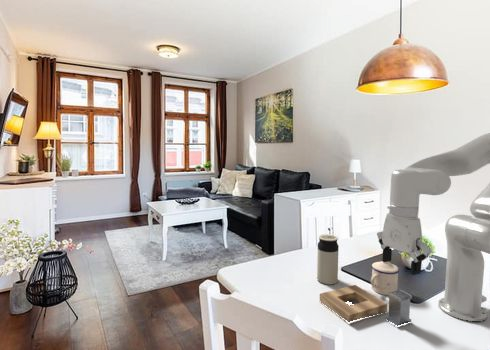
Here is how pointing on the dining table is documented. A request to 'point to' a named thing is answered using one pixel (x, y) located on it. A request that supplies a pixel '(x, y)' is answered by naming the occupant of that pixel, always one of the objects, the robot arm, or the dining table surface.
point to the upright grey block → (399, 307)
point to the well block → (360, 298)
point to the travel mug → (327, 259)
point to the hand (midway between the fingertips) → (400, 267)
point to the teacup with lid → (384, 277)
